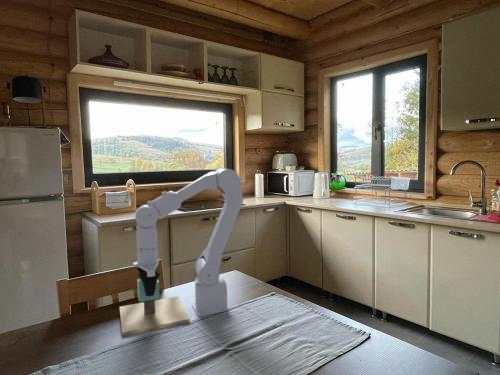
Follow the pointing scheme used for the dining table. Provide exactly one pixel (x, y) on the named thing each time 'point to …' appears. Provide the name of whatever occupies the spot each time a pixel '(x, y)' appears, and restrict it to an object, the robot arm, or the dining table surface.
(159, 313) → the base plate
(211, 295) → the robot arm
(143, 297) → the mint green mini box
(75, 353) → the dining table surface
